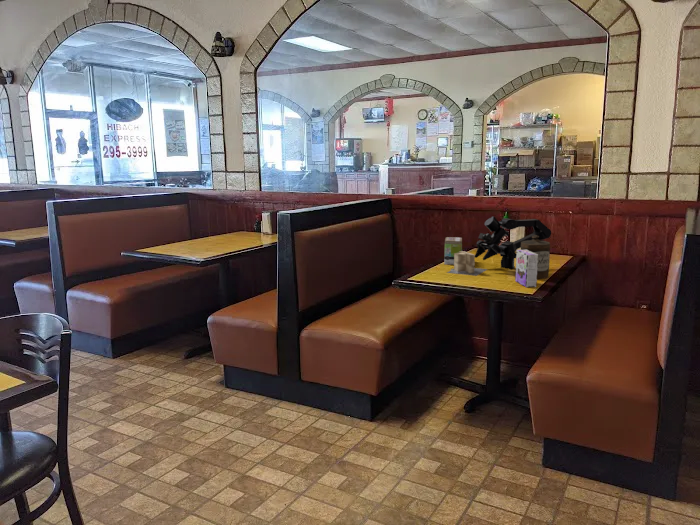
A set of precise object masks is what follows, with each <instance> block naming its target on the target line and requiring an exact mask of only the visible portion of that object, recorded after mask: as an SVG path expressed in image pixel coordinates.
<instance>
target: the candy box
mask: <svg viewBox="0 0 700 525" xmlns="http://www.w3.org/2000/svg"><path fill="white" fill-rule="evenodd" d="M515 253H516V258H515V259H516V260H515V282H516V283H518V284H519V285H521V286H523V287H524V286H525V288H537V284H538V283H537V282H538V279H537V267H538V254H535V253H533V252H531V251H529V250H521V249H517V250H516V251H515Z"/></svg>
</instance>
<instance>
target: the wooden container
mask: <svg viewBox="0 0 700 525" xmlns="http://www.w3.org/2000/svg"><path fill="white" fill-rule="evenodd" d="M532 238H533V239H532V240H527V241H522V242H521V248H520V250H529V251H531V252H533V253H535V254H538V267H537V280H543V279H547V278H549V274H550V255H551V254H550V252H551V251H550V250H551V248H550V247H551V243H550V242H551V241H550V242H549V241H546V240H539V239H538V238H539V236H537V235H534V236H532Z"/></svg>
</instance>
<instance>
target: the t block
mask: <svg viewBox="0 0 700 525" xmlns="http://www.w3.org/2000/svg"><path fill="white" fill-rule="evenodd" d="M475 259H476V258H475V254H474V253H470V252H469V251H468V252H467V251H465V250H464V251H463V250H462V251H460V252H459V253H454V264H453V266H454V267H453V269H454V270H457V271H467V273H474V268H475V264H476V263H475V262H476V261H475Z"/></svg>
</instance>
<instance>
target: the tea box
mask: <svg viewBox="0 0 700 525" xmlns="http://www.w3.org/2000/svg"><path fill="white" fill-rule="evenodd" d="M460 251H463V237H458V236H457V237H456V236H455V237H453V236H452V237H451V236H449V237H448V236H447V237H445V239H444V259H443V260H444V263H443V264H444V265H454V253H459V252H460Z"/></svg>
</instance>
